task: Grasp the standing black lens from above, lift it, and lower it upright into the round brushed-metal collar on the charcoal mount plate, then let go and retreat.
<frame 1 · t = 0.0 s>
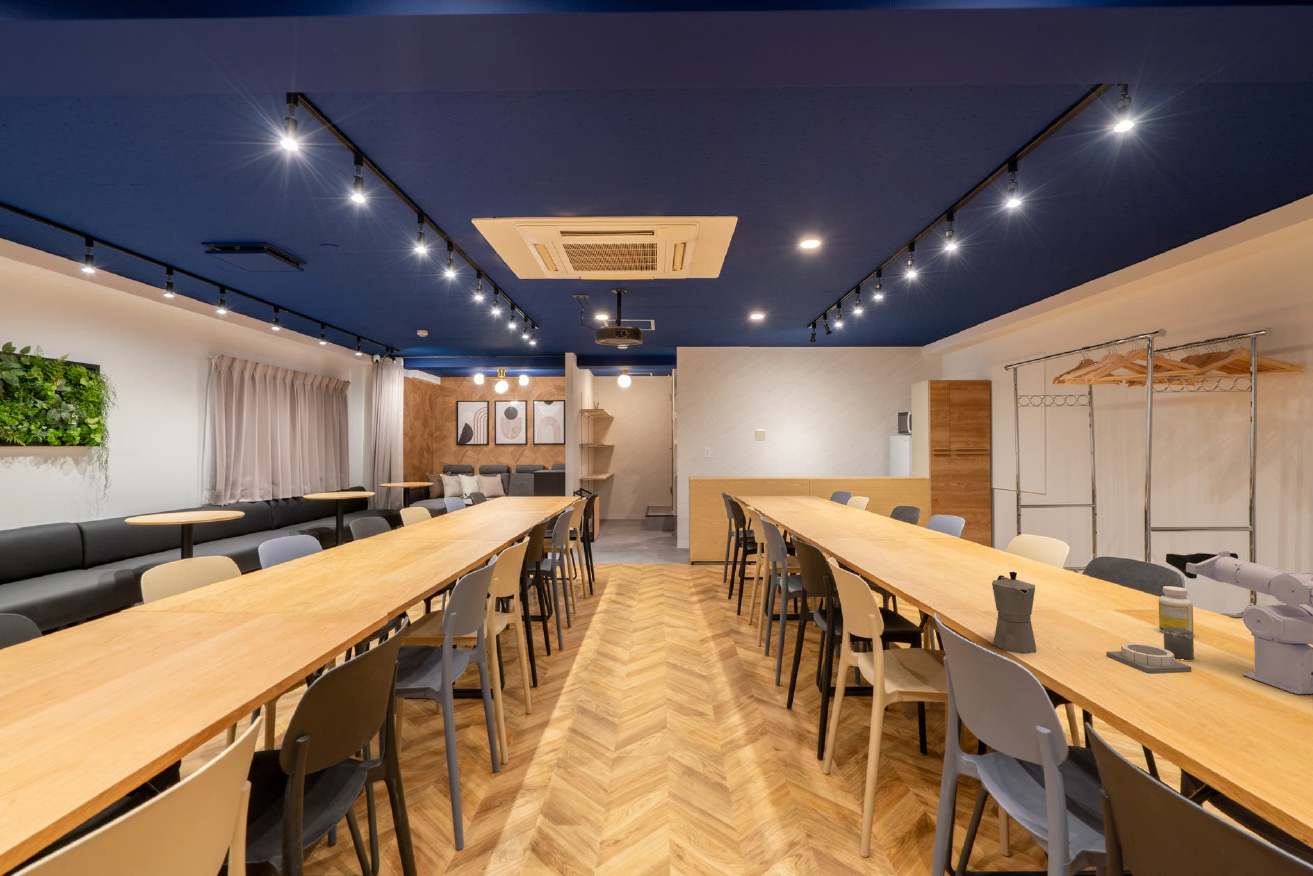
hand: (1182, 557, 133), 22 cm above the table, tool horizontal, fingers open, 7 cm apart
pill bottle: (1176, 634, 144), on the table
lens: (1178, 657, 128), on the table
coffeepot: (1012, 646, 136), on the table
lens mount: (1147, 663, 124), on the table
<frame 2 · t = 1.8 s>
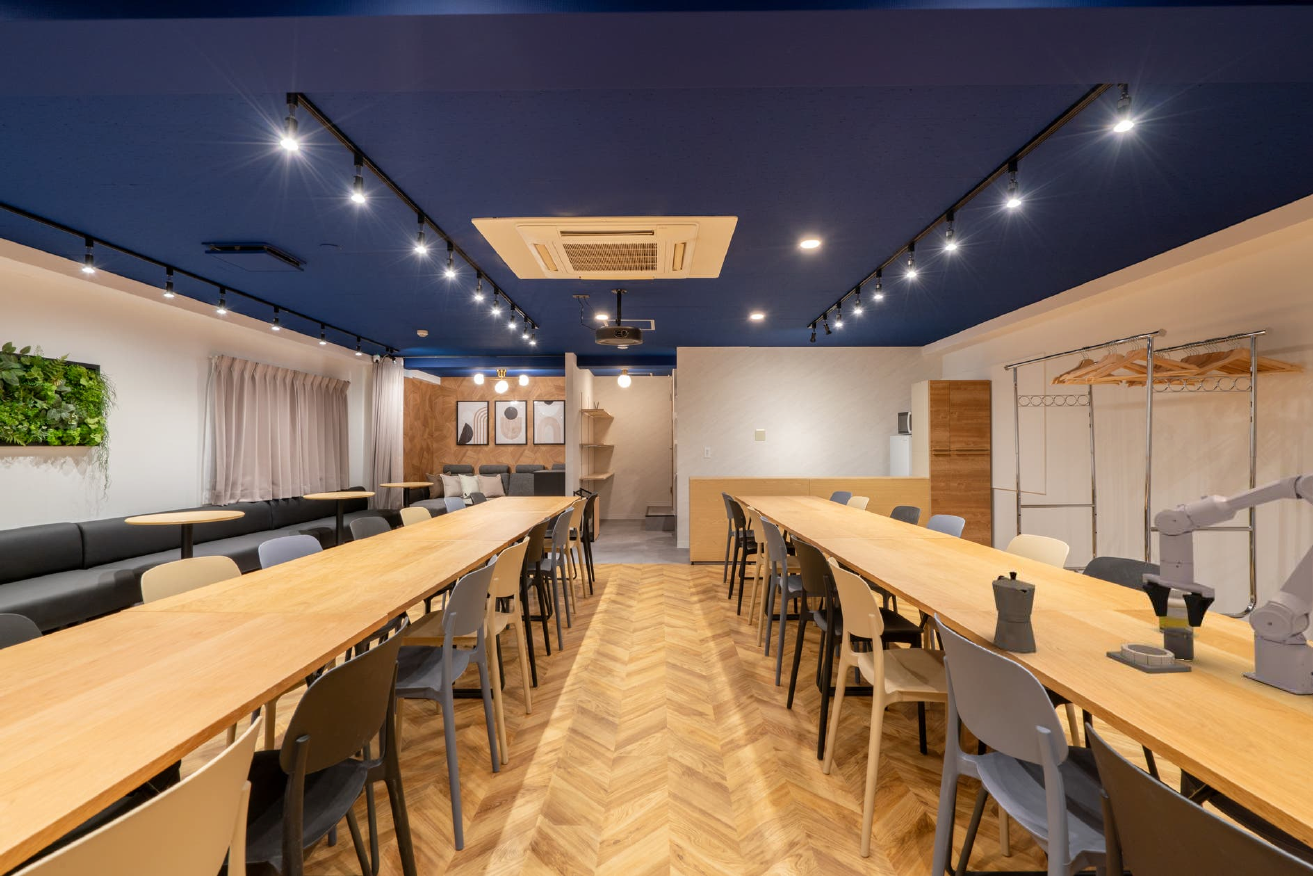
hand: (1177, 621, 128), 8 cm above the table, tool pointing down, fingers open, 7 cm apart
nothing on the table moved.
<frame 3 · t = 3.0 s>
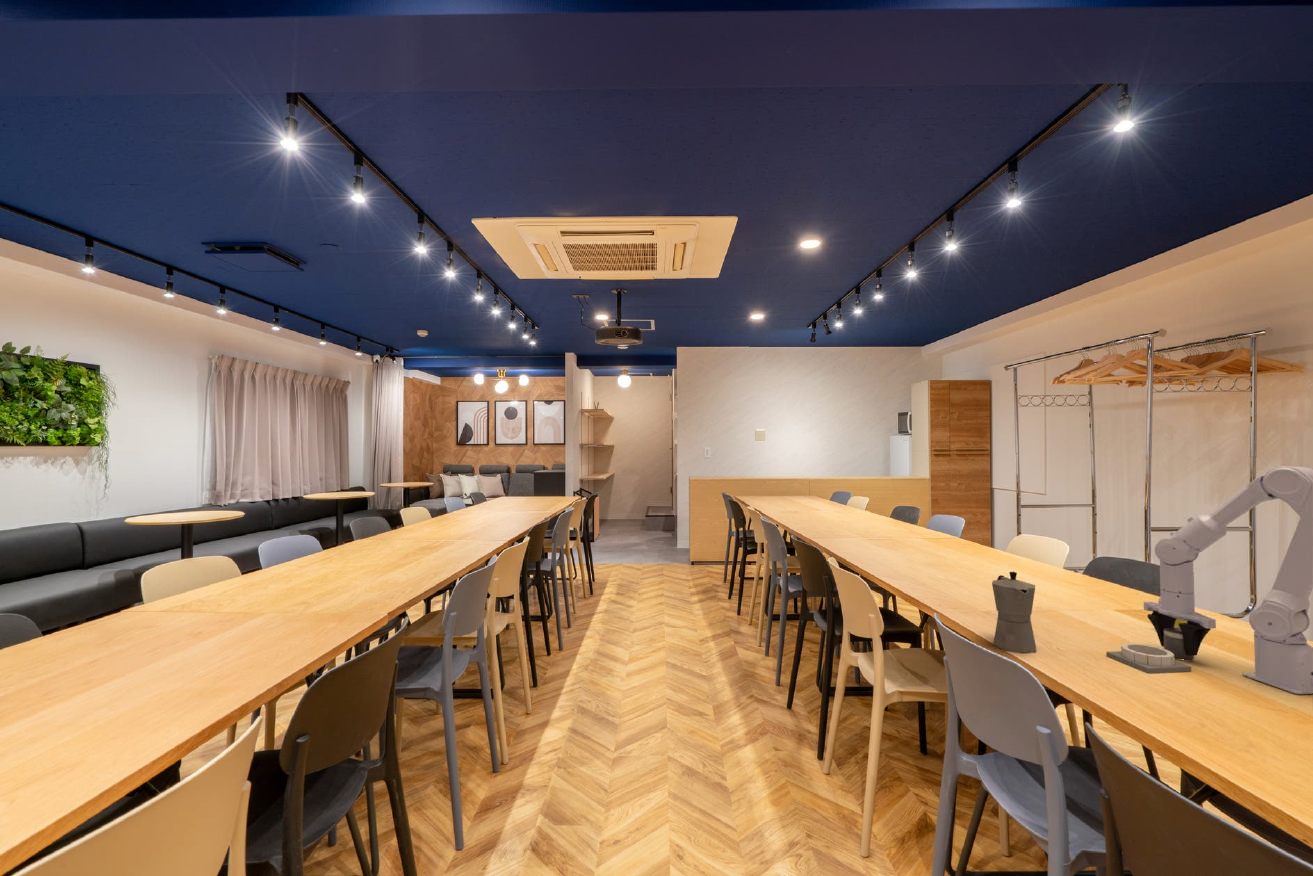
hand: (1178, 650, 128), 1 cm above the table, tool pointing down, fingers closed on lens, 5 cm apart
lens: (1178, 656, 128), on the table, touching gripper
everything else where it was.
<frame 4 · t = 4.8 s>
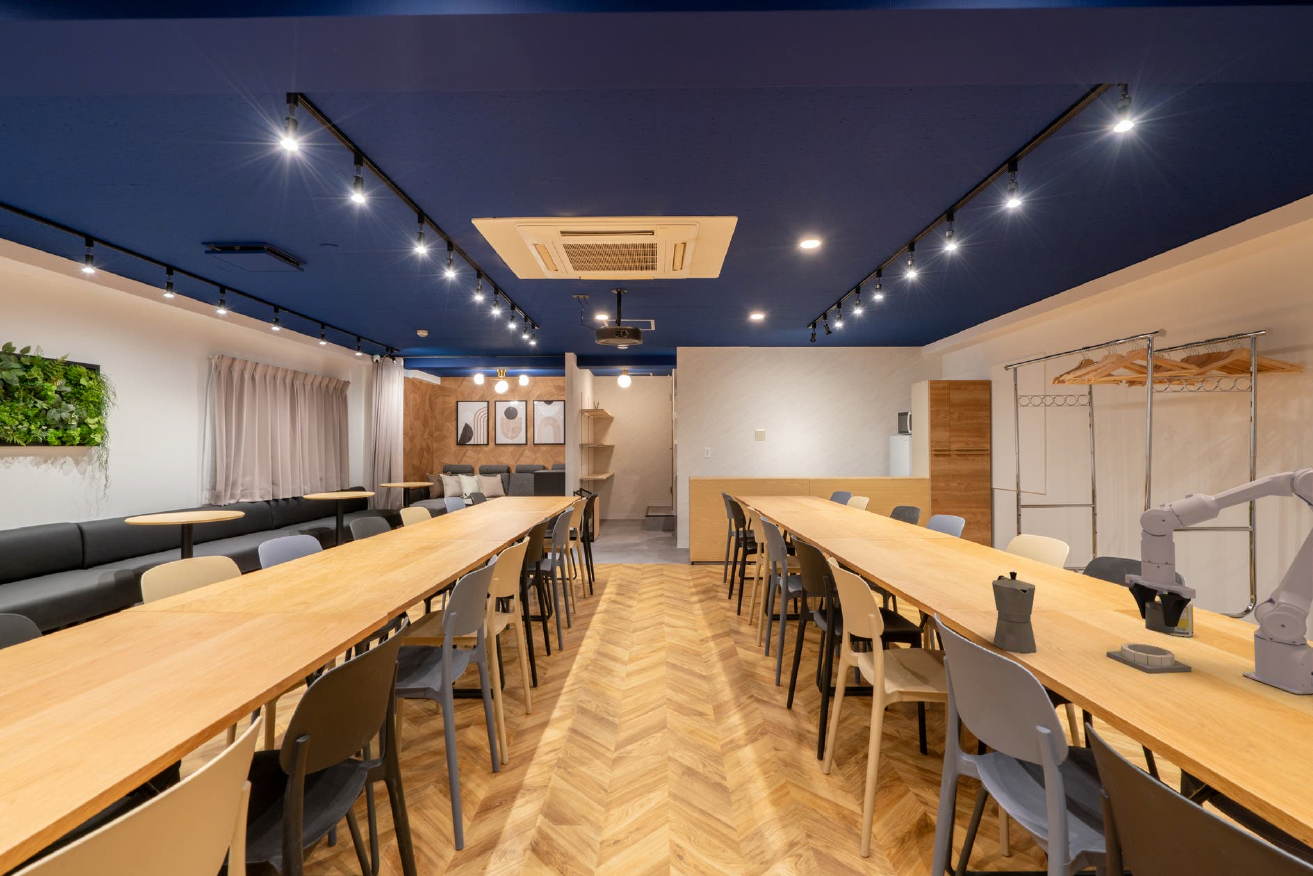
hand: (1159, 622, 126), 8 cm above the table, tool pointing down, fingers closed on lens, 5 cm apart
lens: (1160, 630, 126), point 7 cm above the table, touching gripper
everything else where it was.
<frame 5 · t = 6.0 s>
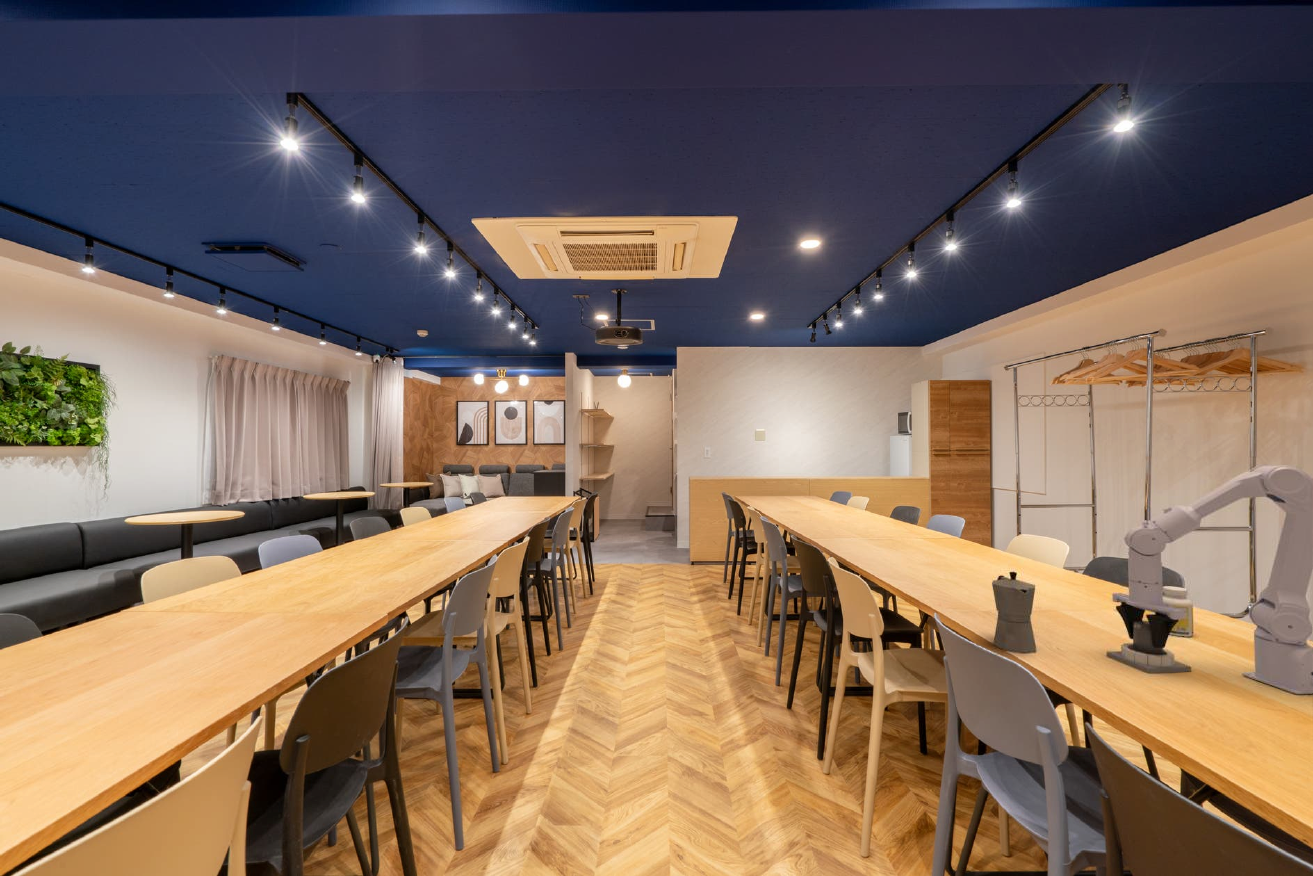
hand: (1146, 643, 124), 5 cm above the table, tool pointing down, fingers closed on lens, 5 cm apart
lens: (1147, 650, 124), point 3 cm above the table, touching gripper
everything else where it was.
when the fingers open (4 cm above the table, at t = 6.7 s): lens stays where it is, resting on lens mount.
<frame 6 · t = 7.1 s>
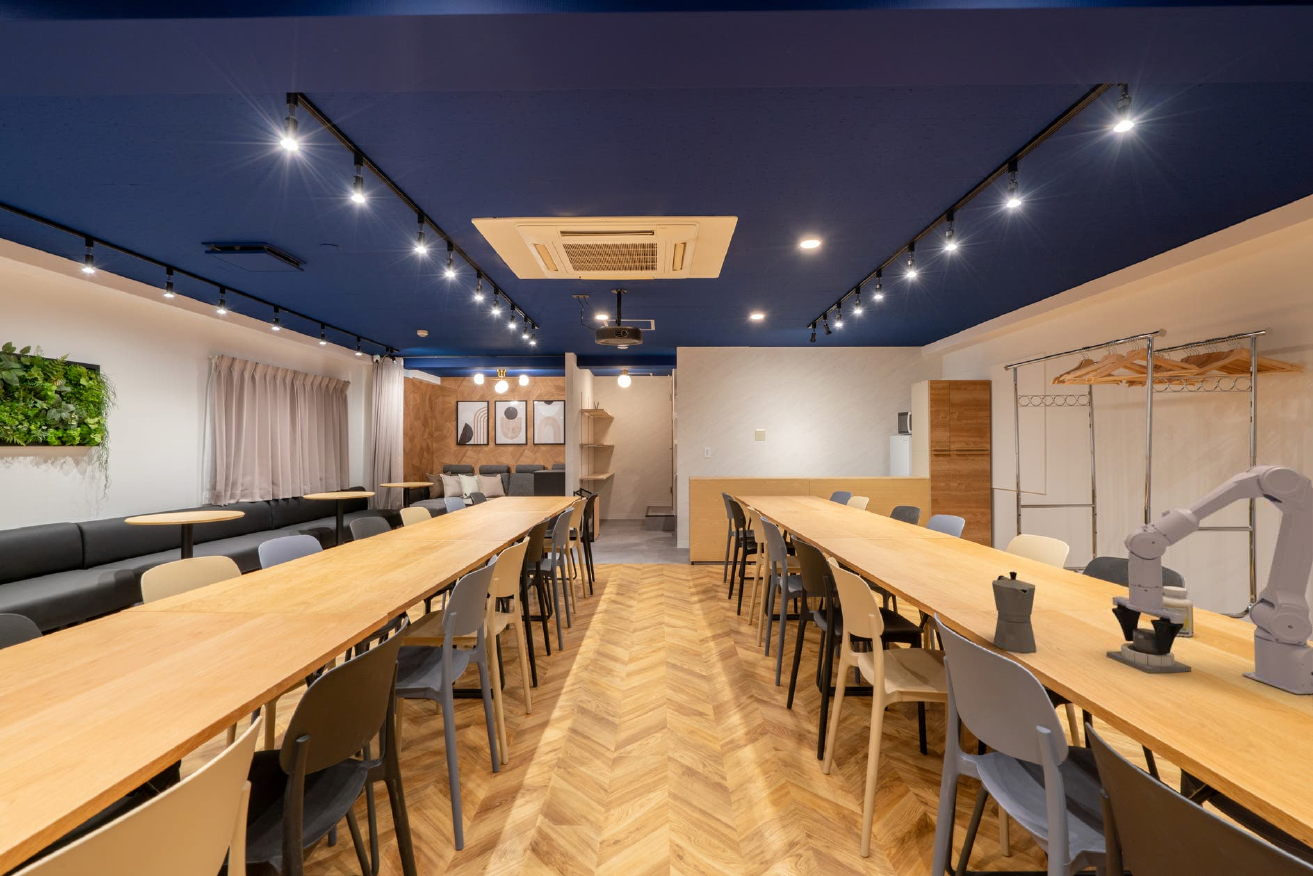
hand: (1146, 646, 124), 4 cm above the table, tool pointing down, fingers open, 7 cm apart
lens: (1148, 659, 124), point 1 cm above the table, touching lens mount
everything else where it was.
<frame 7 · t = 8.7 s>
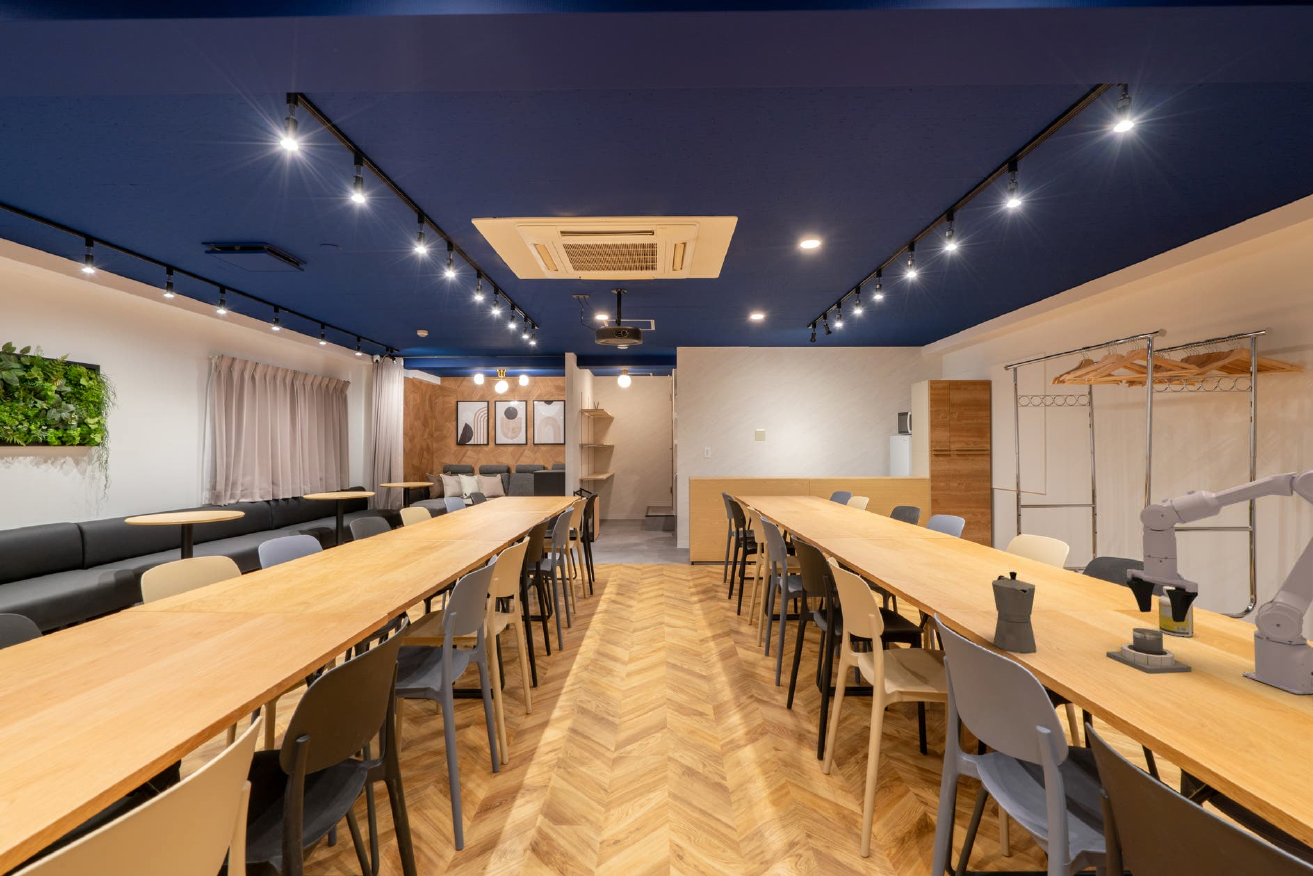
hand: (1161, 616, 127), 9 cm above the table, tool pointing down, fingers open, 7 cm apart
nothing on the table moved.
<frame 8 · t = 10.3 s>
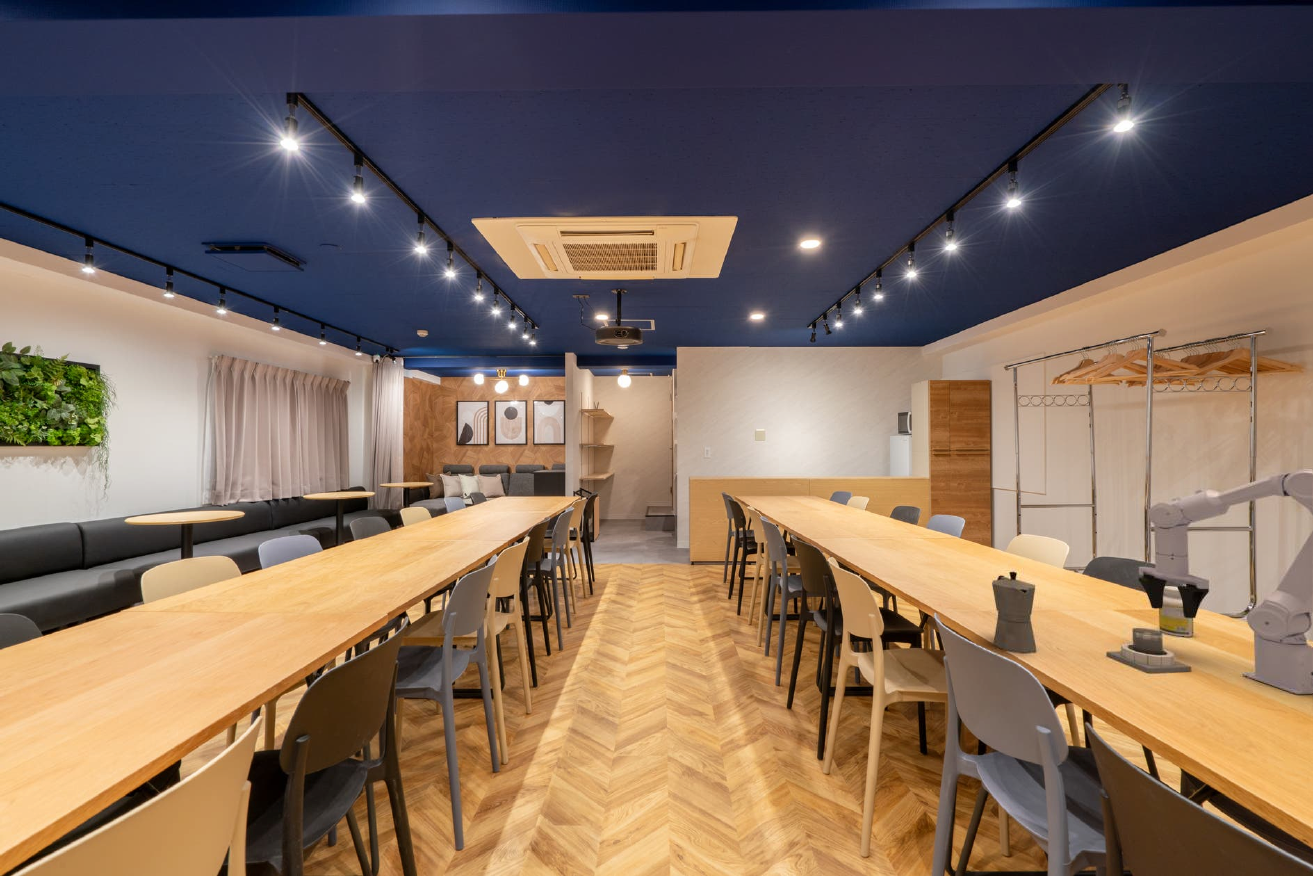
hand: (1172, 612, 130), 9 cm above the table, tool pointing down, fingers open, 7 cm apart
nothing on the table moved.
at the end: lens 0.2 cm off-centre on the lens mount, point 1.1 cm above the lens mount's base; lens tilted 1°; the gripper is holding nothing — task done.
